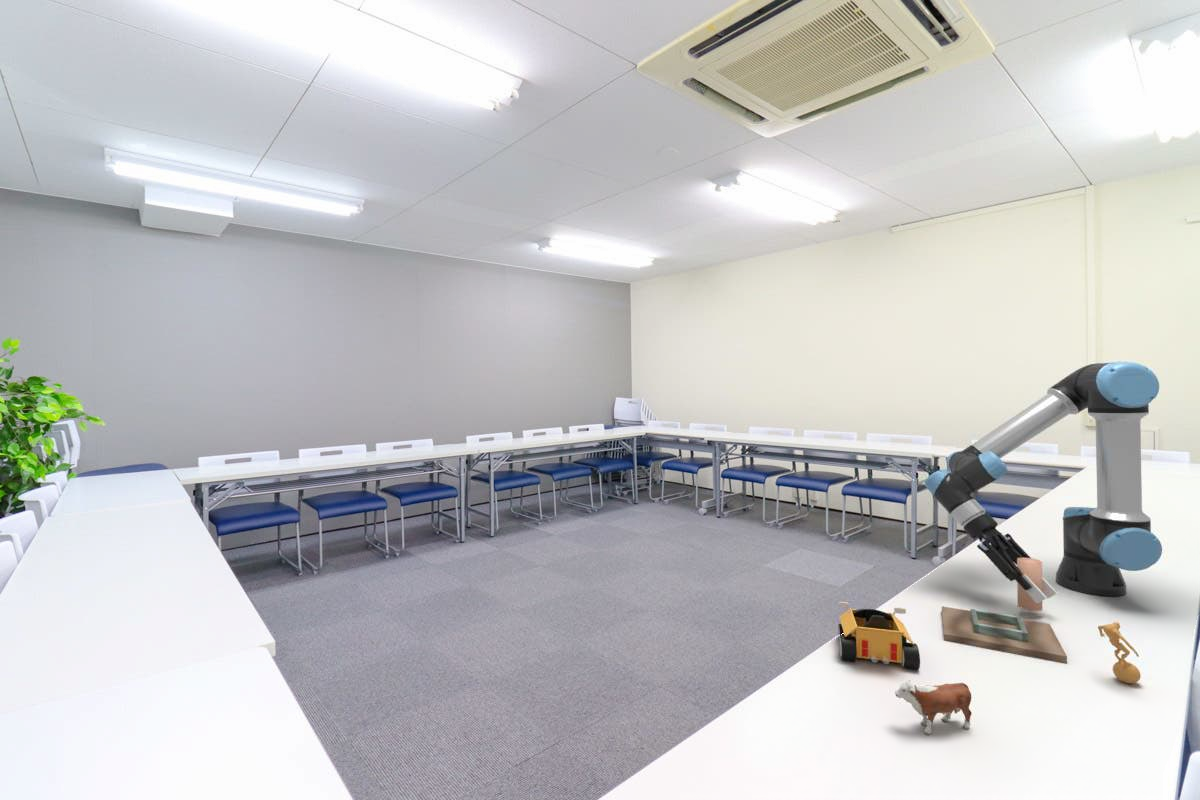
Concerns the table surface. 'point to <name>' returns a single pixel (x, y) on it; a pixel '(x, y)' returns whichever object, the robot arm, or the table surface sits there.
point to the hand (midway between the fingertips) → (1047, 598)
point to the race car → (876, 637)
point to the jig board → (1002, 633)
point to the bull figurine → (937, 701)
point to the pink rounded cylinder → (1035, 575)
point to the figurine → (1121, 668)
